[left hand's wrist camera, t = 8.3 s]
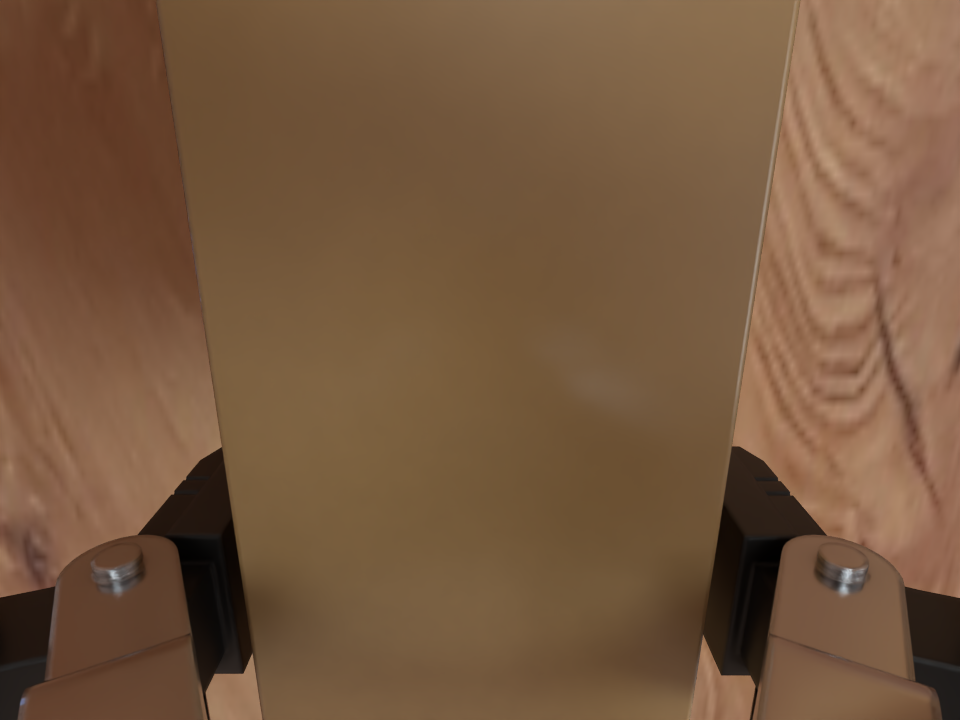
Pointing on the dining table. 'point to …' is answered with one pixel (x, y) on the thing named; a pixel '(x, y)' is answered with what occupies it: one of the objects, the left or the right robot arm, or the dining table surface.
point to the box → (477, 335)
